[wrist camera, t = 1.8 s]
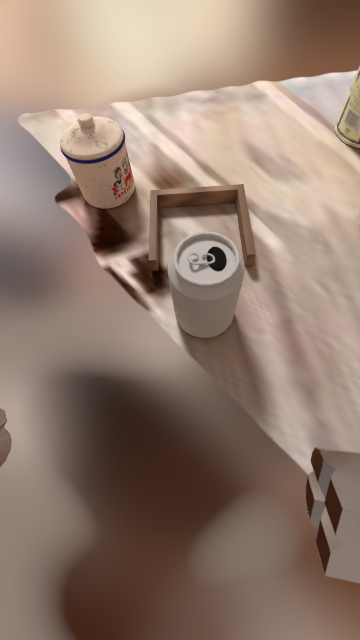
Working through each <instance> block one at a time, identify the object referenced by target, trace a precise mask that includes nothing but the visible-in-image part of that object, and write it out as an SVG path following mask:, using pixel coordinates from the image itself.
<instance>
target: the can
mask: <svg viewBox="0 0 360 640" xmlns="http://www.w3.org/2000/svg"><path fill="white" fill-rule="evenodd" d="M244 273H245V268H244V260H243V258H242V256H241V254H240V252H239V251H238V249H237V246H236V245H235V244H234V243H233V242H232V241H231V240H230V239H229V238H227V237H225V236H224V235H222V234H219V233H215V232H199V233H195V234H192V235H190V236H188V237H186V238H184V239H183V240H182V241H181V242H180V243H179V244H178V245H177V247H176V249H175V251H174V252H173V253H172V255H171V257H170V260H169V262H168V276H169V282H170V287H171V293H172V299H173V305H174V311H175V316H176V319H177V322H178V324H179V325H180V326H181V328H182V329H183V330H184V331H186V332H187V333H188V334H190V335H193V336H196V337H199V338H210V337H214V336H217V335H219V334H221V333H222V332H224V331H226V330H227V328H228V327H229V326H230V324H231V323H232V320H233V317H234V314H235V310H236V306H237V301H238V297H239V293H240V289H241V285H242V281H243V277H244Z"/></svg>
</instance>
